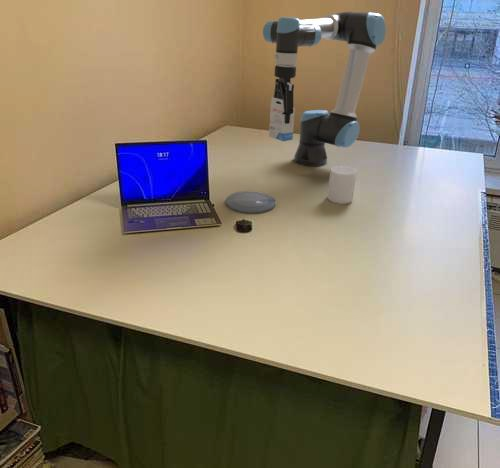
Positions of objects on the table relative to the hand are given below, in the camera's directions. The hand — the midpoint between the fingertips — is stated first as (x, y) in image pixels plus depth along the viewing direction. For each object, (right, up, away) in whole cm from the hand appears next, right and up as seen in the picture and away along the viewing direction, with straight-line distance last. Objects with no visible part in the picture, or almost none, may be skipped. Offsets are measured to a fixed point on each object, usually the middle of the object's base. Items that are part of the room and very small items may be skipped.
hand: (281, 128), depth 180 cm
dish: (-11, -28, -4) cm, 31 cm away
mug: (+22, -26, +4) cm, 34 cm away
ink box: (0, -3, +2) cm, 4 cm away
